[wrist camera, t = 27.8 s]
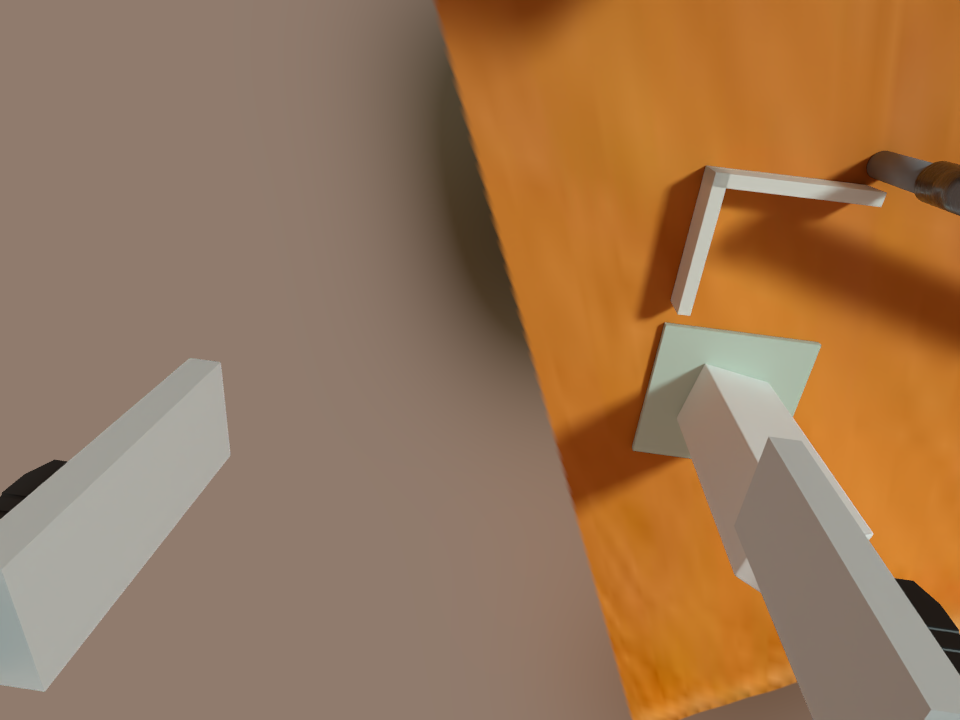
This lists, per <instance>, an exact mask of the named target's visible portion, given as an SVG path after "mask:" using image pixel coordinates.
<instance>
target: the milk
mask: <svg viewBox="0 0 960 720" xmlns="http://www.w3.org/2000/svg"><path fill="white" fill-rule="evenodd" d="M677 421H678V423H679V426H680V429H681V431H682V434H683V437H684V440H685V442H686V445H687V448H688V450H689V453H690V456H691V458H692V461H693V464H694V466H695V469H696V472H697V475H698V477H699V480H700V483H701V485H702V488H703V491H704V493H705V496H706V499H707V502H708V504H709V507H710V510H711V512H712V515H713V518H714V520H715V523H716V526H717V528H718V531H719V534H720V537H721V539H722V542H723V545H724V547H725V550H726V553H727V555H728V558H729V561H730V563H731V566H732V569H733V572H734V574H735V576H736V577H738V578H739V579H741V580H742V581H744V582H745V583H747V584H749V585H750V586H752V587H753V588H755V589H756V590H758V591H759V592H761V591H760V589H759V586H758V584H757V581H756V579H755V576H754V574H753V572H752V569H751V567H750V564H749V562H748V559H747V557H746V554H745V552H744V549H743V547H742V545H741V542H740V540H739V537H738V535H737V532H736V530H735V527H734V525H735V522H736V520H737V517H738V514H739V512H740V509H741V507H742V504H743V501H744V499H745V496H746V494H747V491H748V488H749V486H750V483H751V481H752V478H753V475H754V473H755V470H756V468H757V465H758V462H759V460H760V457H761V455H762V452H763V449H764V447H765V444H766V442H767V439H768V436H769V437H776V438H784V439H791V440H799V441H802V442H803V444H804V445H805V447H806V448H807V450H808V451H809V453H810V454H811V456H812V457H813V459H814V460H815V462H816V463H817V464H818V466H819V467H820V469H821V470H822V472H823V473H824V475H825V476H826V478H827V479H828V481H829V482H830V484H831V485H832V487H833V488H834V490H835V491H836V493H837V494H838V496H839V497H840V499H841V500H842V501H843V503H844V504H845V506H846V507H847V509H848V510H849V512H850V513H851V515H852V516H853V518H854V519H855V521H856V522H857V524H858V525H859V527H860V528H861V530H862V531H863V533H864V534H865V536H866V537H867V539H868V540H869V539H870V538H871V537H872V535H873V532H872V531H871V529H870V528H869V526H868V525H867V524H866V522H865V521H864V519H863V518H862V516H861V515H860V514H859V512H858V511H857V509H856V508H855V506H854V505H853V503H852V502H851V501H850V499H849V498H848V496H847V495H846V493H845V492H844V490H843V489H842V488H841V486H840V485H839V483H838V482H837V480H836V479H835V478H834V476H833V475H832V473H831V472H830V470H829V469H828V467H827V466H826V465H825V463H824V462H823V460H822V459H821V457H820V456H819V454H818V453H817V452H816V450H815V449H814V447H813V446H812V444H811V443H810V442H809V440H808V439H807V437H806V436H805V434H804V433H803V431H802V430H801V429H800V427H799V426H798V424H797V423H796V421H795V420H794V418H793V417H792V416H791V414H790V413H789V411H788V410H787V408H786V407H785V406H784V404H783V403H782V401H781V400H780V398H779V397H778V395H777V394H776V393H775V391H774V390H773V388H772V387H771V385H770V384H769V383H768V382H765V381H762V380H758V379H755V378H752V377H748V376H745V375H742V374H738V373H735V372H732V371H728V370H725V369H722V368H719V367H715V366H712V365H709V364H705V365H704V366H703V368H702V370H701V372H700V374H699V376H698V378H697V380H696V382H695V384H694V386H693V387H692V389H691V391H690V393H689V395H688V397H687V399H686V401H685V403H684V405H683V407H682V409H681V410H680V412H679V414H678V416H677Z"/></svg>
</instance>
